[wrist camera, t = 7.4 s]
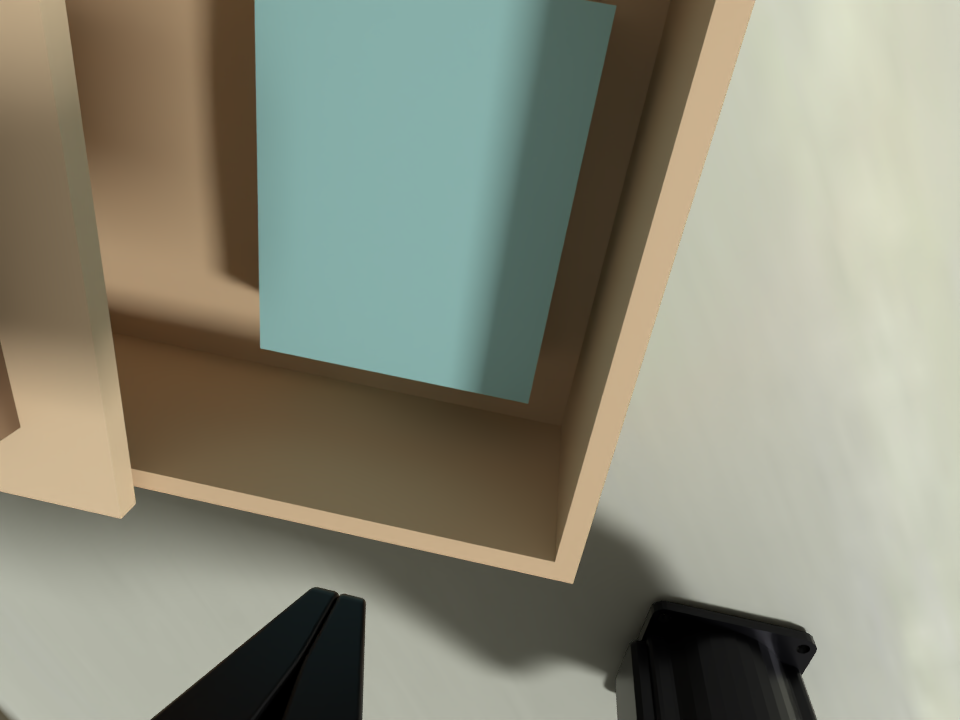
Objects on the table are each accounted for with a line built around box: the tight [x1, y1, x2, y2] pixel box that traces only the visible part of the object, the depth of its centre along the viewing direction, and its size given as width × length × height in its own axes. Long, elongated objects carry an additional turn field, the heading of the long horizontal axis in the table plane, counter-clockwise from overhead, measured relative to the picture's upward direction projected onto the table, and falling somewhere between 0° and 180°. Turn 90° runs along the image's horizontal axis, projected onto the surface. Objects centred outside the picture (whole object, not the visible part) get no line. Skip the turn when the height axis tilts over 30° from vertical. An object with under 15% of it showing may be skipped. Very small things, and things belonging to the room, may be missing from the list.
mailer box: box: [65, 0, 755, 584], centre depth 16 cm, size 20×16×7 cm
